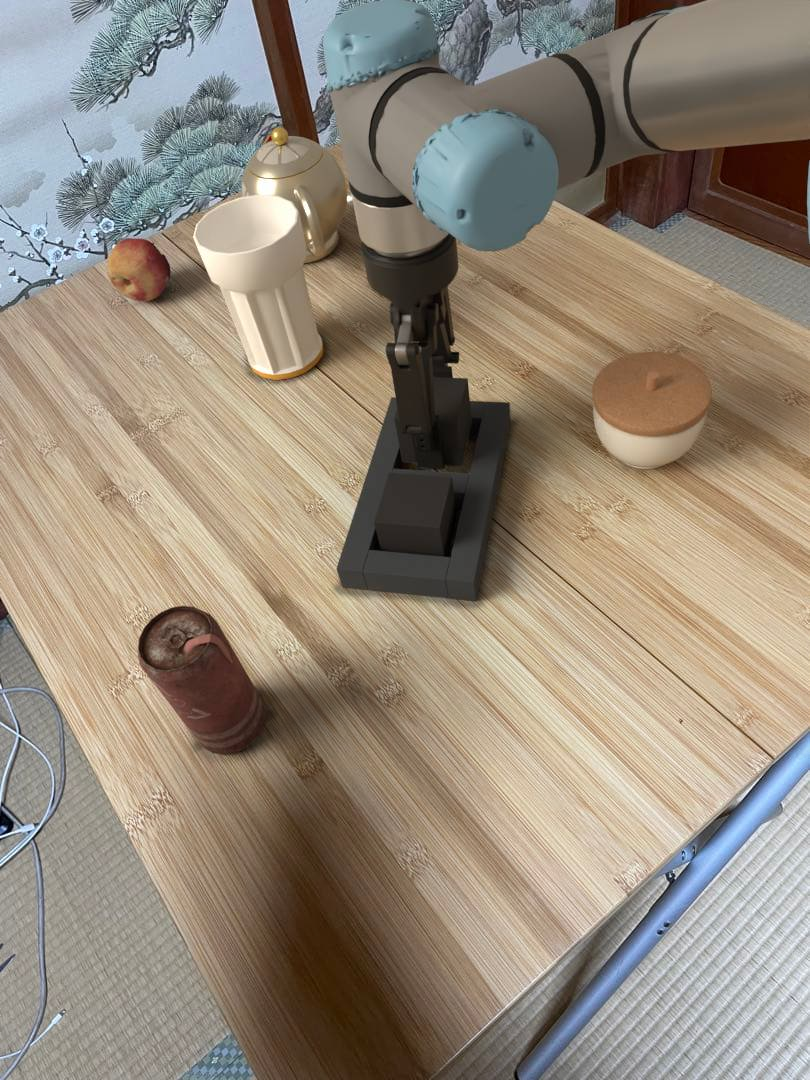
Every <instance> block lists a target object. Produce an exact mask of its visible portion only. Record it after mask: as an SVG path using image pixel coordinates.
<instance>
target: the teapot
mask: <svg viewBox="0 0 810 1080" xmlns="http://www.w3.org/2000/svg"><path fill="white" fill-rule="evenodd" d="M271 131H272V132H271V133H270V134H268V135H267V137H266V138H265V140H264V142H262V144H261V146H260V147H259V148H258V149H257V150H255V152H254V153H253V154H252V156H251V157H250V159H249V160H248V161H247V164H246V165H245V168H244V171H243V174H242V177H241V185H240V193H241V197H246V196H253V195H260V194H262V195H273V196H280V197H282V198H284V199H286V200H289V201H291V202H293V204H294V205H295V207H296V208H297V210H298V211H299V215H300V219H301V224H302V229H303V233H304V238H305V243H306V247H307V249H306V259H305V261H304V263H303V264H309V263H313V262H317V261H319V260H322V259H323V258H326V257H328V256H329V255H330V254H331V253H332V252H333V251H334V250H335V249H336V247H337V245H338V244H339V231H338V229H339V227H340V226H341V224H342V222H343V219H344V217H345V213H346V211H347V205H348V203H347V200H346V199H347V195H348V187H347V182H346V178H345V175H344V172H343V170H342V168H341V166H340V164H339V163H338V161H337V160H336V158H335V157H334V155H332V154H331V153H330V152H329V151H328V150H327V149H326V148H325V147H324V146H322V145H321V144H320V143H318V142H316V141H314V140H312V139H309V138H306V137H302V136H297V135H296V136H295V135H289V133H288V131H287V130H286V128H284V127H282V126H277V127H275V128H273V129H272V130H271Z"/></svg>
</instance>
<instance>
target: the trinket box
mask: <svg viewBox="0 0 810 1080" xmlns="http://www.w3.org/2000/svg"><path fill="white" fill-rule="evenodd" d="M591 388H592V389H591V398H592V417H593V418H592V419H593V422H594V428H595V433H596V435H597V437H598V439H599V442H601V444H602V446H603V447H604V448H605V450H606V451H607V452H608V453H609V454H610V455H611V456H612V457H613V458H616V459H617V460H619V461H620V462H622V463H623V464H624V465H627V466H628V467H631V468H635V469H638V470H639V469H640V470H652V469H653V470H654V469H658V468H660V467H664V466H665V465H668V464H671V463H673V462H674V461H677V460H678V459H680V458H681V457H683V456H684V455H685V454H686V453H688V451H690V449H692V447H693V446H694V445H695V443H696V442H697V440H698V438H699V437H700V435H701V433H702V431H703V428H704V425H705V423H706V419H707V416H708V412H709V409H710V406H711V404H712V400H713V399H712V398H713V386H712V383H711V380H710V379H709V377H708V376H707V374H706V373H705V372H704V371H703V369H702V368H700V367H699V366H698V365H697V364H695V363H694V362H692V361H691V360H689V359H687V358H685V357H683V356H680V355H677V354H673V353H668V352H664V351H663V352H662V351H639V352H634V353H629V354H626V355H623V356H620V357H618V358H616V359H613V360H612V361H610V362H609V363H607V364H606V365H605V366H604V367H603V368H602V369H601V370H600V371H599V372H598V373H597V374H596V376H595V379H594V380H593V384H592V387H591Z"/></svg>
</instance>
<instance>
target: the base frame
mask: <svg viewBox="0 0 810 1080" xmlns="http://www.w3.org/2000/svg"><path fill="white" fill-rule="evenodd" d="M470 408H471V418H472V425H471V430H470V434H469V438H468V439H476V442H475V447H474V452H473V456H472V460H471V465H470V469H469V473H466V472H465V473H464V472H453V471H451V472H450V471H437V470H436V471H435V470H434V471H433V470H421V469H405V468H404V467H405V464H406V463H404V462H402V457H401V452H400V447H399V442H398V437H397V432H396V426H395V421H394V417H395V414H396V410H397V402H396V396H395V397H394V396H392V397H390V401H389V404H388V406H387V409H386V413H385V417H384V419H383V421H382V425H381V428H380V432H379V435H378V438H377V441H376V444H375V447H374V449H373V453H372V456H371V460H370V462H369V466H368V469H367V471H366V475H365V478H364V480H363V481H364V482H363V485H362V488H361V491H360V494H359V497H358V499H357V503H356V507H355V510H354V513H353V516H352V519H351V522H350V525H349V529H348V532H347V534H346V538H345V540H344V544H343V547H342V550H341V553H340V557H339V559H338V561H337V562H338V563H337V565H336V572H337V575H338V578H339V581H340V584H341V587H342V588H343V589H351V590H352V589H353V590H364V591H373V592H382V593H393V594H400V595H401V594H403V595H413V596H421V597H432V598H443V599H449V600H460V601H469V602H470V601H471V602H477V600H478V594H479V591H480V589H479V588H480V584H481V579H482V575H483V574H482V573H483V569H484V564H485V558H486V553H487V548H488V543H489V537H490V533H491V528H492V524H493V523H492V522H493V517H494V512H495V507H496V501H497V496H498V491H499V486H500V481H501V475H502V470H503V467H504V466H503V465H504V460H505V455H506V450H507V446H508V445H507V444H508V439H509V435H510V430H511V424H512V423H511V421H512V420H511V403H510V402H509V401H508V402H506V401H486V400H485V401H484V400H483V401H481V400H470ZM389 473H399V474H413V475H427V476H442V477H452V481H453V489H454V496H455V504H456V511H457V513H460V515H459V519H458V522H457V526H456V527H457V528H456V532H455V535H454V540H453V544H452V545H453V546H452V549H451V555H450V556H449V557H442V556H431V555H420V554H409V553H398V552H387V551H381V547H380V543H379V540H378V536H377V532H376V528H375V524H374V521H375V517H376V514H377V511H378V507H379V504H380V501H381V497H382V494H383V491H384V488H385V484H386V481H387V478H388V474H389Z"/></svg>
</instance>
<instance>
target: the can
mask: <svg viewBox="0 0 810 1080" xmlns="http://www.w3.org/2000/svg"><path fill="white" fill-rule="evenodd" d="M220 626H221V625H220V624H219V623H218V621H217V620H216V619H215V618H214V616H212V615H211V613H208V612H206V611H204V610H202V609H199V608H197V607H195V606H190V605H178V606H172V607H169V608H168V609H165V610H163V611H161V612H159V613H158V614H157V615H155V616H153V617H152V618H150V620H149V621H148V622H147V624H146V625H145V626H144V627H143V629H142V631H141V633H140V636H139V637H138V642H137V643H138V644H137V650H138V651H137V658H138V662H139V666H140V668H141V669H142V670H143V671H144V673H145V674H146V675H147V677H148V678H149V680H150V681H151V682H152V683H153V685H154V686H155V687H156V689H157V690H158V691H159V692H160V694H161V695H162V697H164V699H165V700H166V702H167V703H168V704H169V705H170V707H171V708H172V709H173V711H174V712H175V713H176V714H177V716H178V717H179V718H180V719H181V721H182V722H183V723H184V725H185V726H186V727H187V728H188V730H189V731H190V732H191V734H192V735H193V736H194V737H195V739H196V740H197V741H198V743H199V744H200V745H201V747H202V748H203V749H204V750H206V751H208V752H210V753H212V754H215V755H221V756H225V755H232V754H233V755H234V754H236V753H238V752H240V751H243V750H245V749H247V748H248V747H249V746H251V745H252V744H253V743H254V742H255V741H256V740H257V739H258V737H259V736H260V735H261V733H262V732H263V730H264V726H265V724H266V720H267V708H266V706H265V703H264V701H263V699H262V697H261V695H260V693H259V692H258V690H257V689H256V687H255V685H254V683H253V682H252V679H251V678H250V676H249V674H248V673H247V671H246V669H245V667H244V666H243V664H242V662H241V661H240V659H239V657H238V655H237V654H236V652H235V650H234V648H233V647H232V645H231V644H230V642H229V640H228V639H227V636H226V635H225V633H224V631H223V630H222V628H221V627H220Z"/></svg>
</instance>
